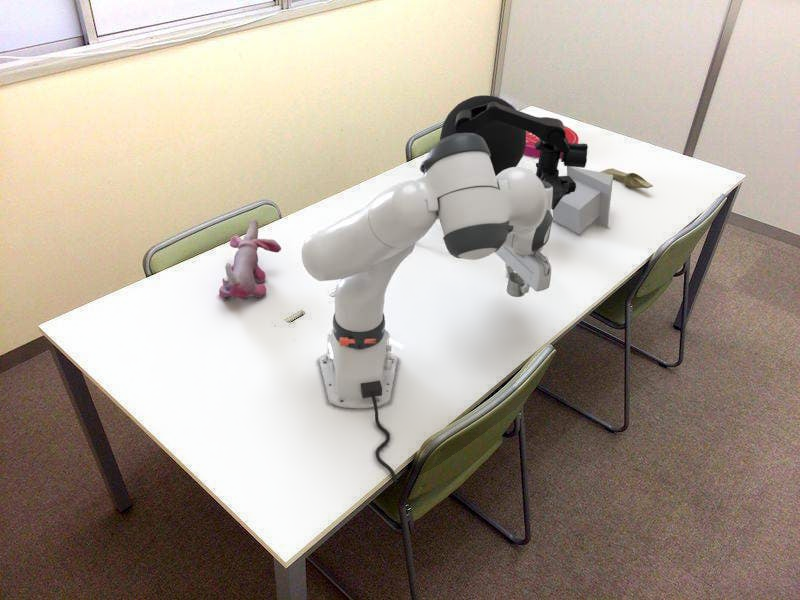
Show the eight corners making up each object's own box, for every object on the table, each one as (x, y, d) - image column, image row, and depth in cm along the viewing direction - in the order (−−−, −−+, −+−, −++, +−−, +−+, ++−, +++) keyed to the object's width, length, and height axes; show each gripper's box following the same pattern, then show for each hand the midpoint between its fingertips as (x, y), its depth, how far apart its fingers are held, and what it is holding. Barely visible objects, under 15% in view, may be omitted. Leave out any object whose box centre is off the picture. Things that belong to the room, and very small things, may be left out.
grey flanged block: (632, 205, 220) (636, 162, 206) (586, 246, 212) (587, 205, 199) (592, 185, 229) (593, 144, 216) (546, 224, 222) (544, 183, 209)
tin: (520, 284, 173) (523, 271, 171) (528, 296, 170) (531, 282, 167) (503, 286, 172) (506, 273, 170) (510, 298, 169) (513, 284, 166)
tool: (597, 174, 249) (599, 163, 246) (610, 171, 251) (612, 160, 248) (638, 197, 232) (641, 185, 229) (652, 193, 234) (655, 182, 231)
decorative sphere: (427, 189, 230) (433, 106, 212) (447, 155, 253) (455, 77, 235) (511, 205, 224) (526, 121, 206) (524, 168, 247) (539, 90, 229)
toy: (299, 270, 187) (288, 223, 179) (243, 315, 171) (228, 266, 163) (250, 258, 196) (238, 213, 188) (193, 300, 180) (176, 253, 172)
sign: (543, 165, 250) (591, 146, 266) (545, 156, 248) (593, 138, 264) (487, 137, 268) (535, 121, 284) (488, 129, 266) (537, 114, 282)
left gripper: (562, 259, 155) (550, 305, 164) (513, 217, 169) (505, 261, 178) (540, 264, 153) (530, 311, 161) (493, 222, 167) (485, 266, 175)
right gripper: (528, 178, 183) (519, 226, 193) (589, 174, 187) (577, 221, 196) (514, 160, 192) (506, 207, 201) (573, 157, 195) (562, 203, 205)
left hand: (516, 284), depth 170 cm, fingers closed on tin, 5 cm apart
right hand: (538, 210), depth 201 cm, fingers open, 9 cm apart
